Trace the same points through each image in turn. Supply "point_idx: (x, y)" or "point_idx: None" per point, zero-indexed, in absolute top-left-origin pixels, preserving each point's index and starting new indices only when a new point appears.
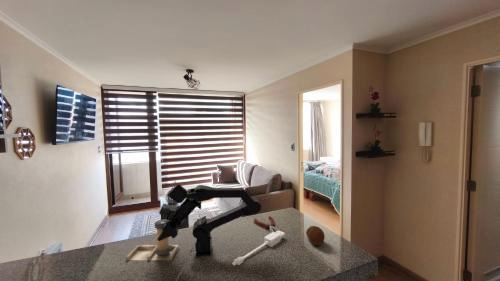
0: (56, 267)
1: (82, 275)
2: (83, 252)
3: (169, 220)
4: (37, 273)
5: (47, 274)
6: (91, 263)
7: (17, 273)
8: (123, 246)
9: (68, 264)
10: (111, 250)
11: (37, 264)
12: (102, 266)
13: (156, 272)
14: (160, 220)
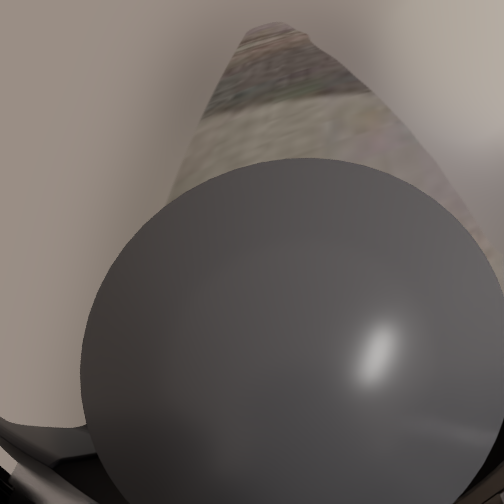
0: (265, 55)
1: (210, 106)
2: (336, 65)
3: (489, 461)
4: (246, 47)
5: (238, 58)
6: (274, 95)
7: (254, 33)
8: (391, 134)
9: (276, 64)
10: (357, 110)
11: (282, 36)
12: (250, 125)
13: None
14: (454, 261)
